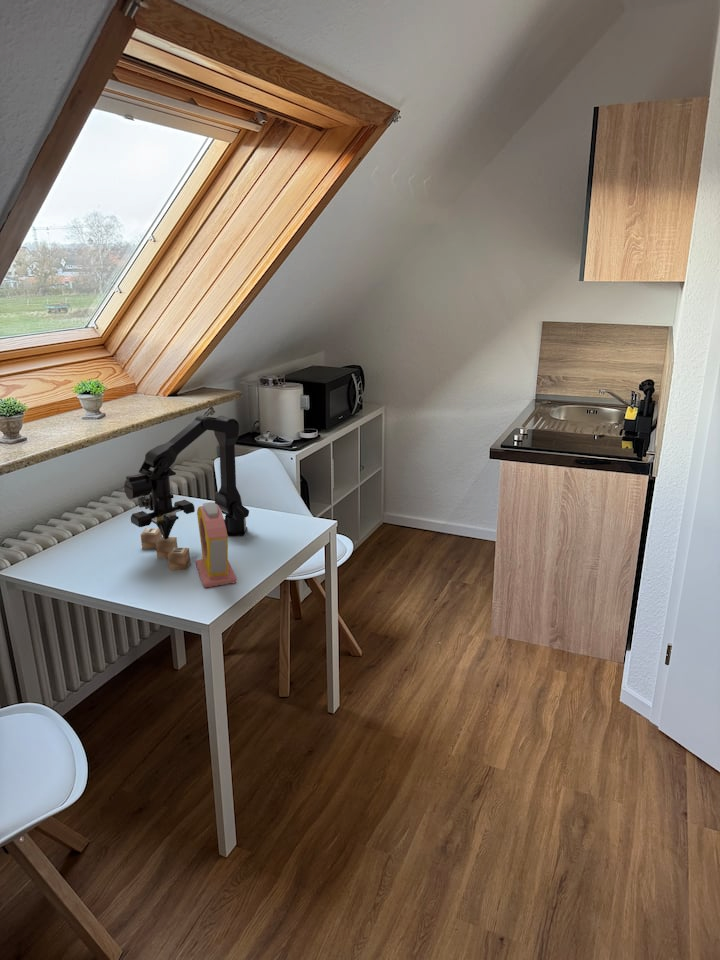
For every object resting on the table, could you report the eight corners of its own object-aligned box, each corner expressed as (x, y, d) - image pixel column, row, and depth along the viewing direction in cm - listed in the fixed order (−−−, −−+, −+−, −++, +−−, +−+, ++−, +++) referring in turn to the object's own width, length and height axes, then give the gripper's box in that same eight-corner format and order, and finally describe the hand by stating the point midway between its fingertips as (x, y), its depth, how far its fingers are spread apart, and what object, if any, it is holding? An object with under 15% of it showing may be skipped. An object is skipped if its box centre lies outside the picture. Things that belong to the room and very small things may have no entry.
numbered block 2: (190, 562, 211) (188, 546, 209) (185, 570, 206) (184, 553, 204) (173, 562, 211) (172, 546, 209) (169, 570, 206) (167, 553, 204)
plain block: (177, 551, 218) (176, 537, 217) (173, 558, 214) (171, 543, 212) (162, 551, 218) (160, 537, 217) (157, 558, 214) (155, 543, 212)
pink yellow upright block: (194, 561, 211) (188, 494, 204) (224, 556, 214) (219, 491, 208) (205, 593, 192) (199, 521, 185) (238, 587, 195) (233, 516, 188)
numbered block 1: (162, 542, 225) (160, 527, 223) (157, 548, 220) (156, 533, 219) (147, 542, 225) (145, 527, 223) (142, 548, 220) (140, 533, 219)
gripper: (175, 478, 221) (179, 523, 226) (119, 492, 209) (125, 539, 214) (193, 486, 213) (197, 533, 218) (136, 501, 201) (142, 550, 206)
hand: (165, 538), depth 214 cm, fingers closed
